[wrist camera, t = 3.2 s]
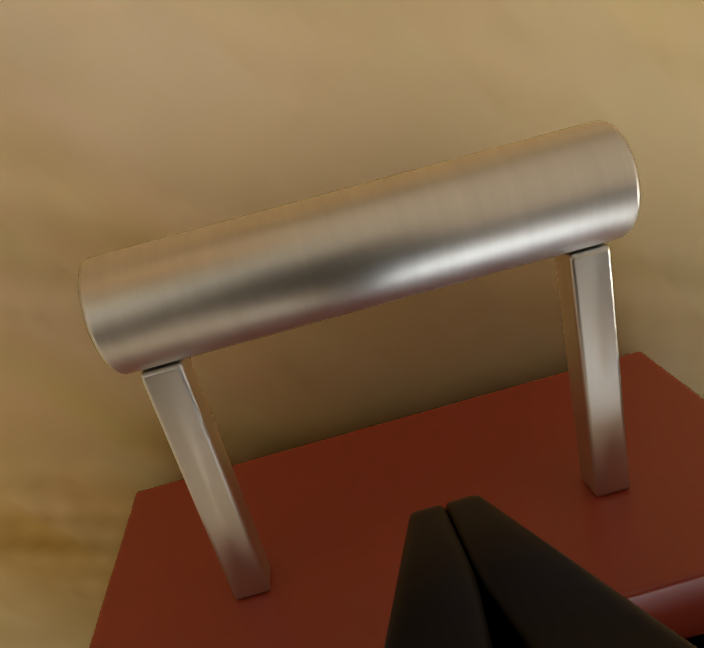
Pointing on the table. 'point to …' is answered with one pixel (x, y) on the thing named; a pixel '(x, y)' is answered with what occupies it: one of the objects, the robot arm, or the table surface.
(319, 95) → the table surface
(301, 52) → the table surface
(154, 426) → the table surface
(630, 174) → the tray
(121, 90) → the table surface
